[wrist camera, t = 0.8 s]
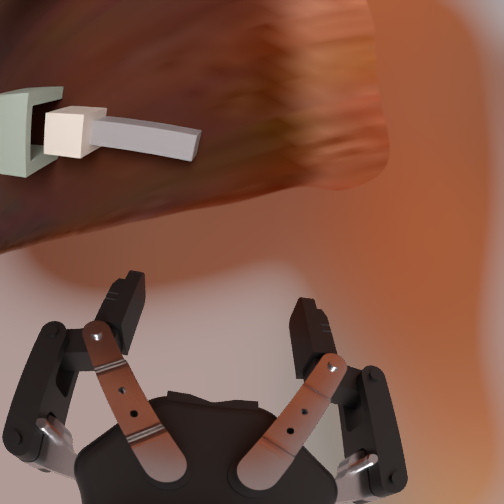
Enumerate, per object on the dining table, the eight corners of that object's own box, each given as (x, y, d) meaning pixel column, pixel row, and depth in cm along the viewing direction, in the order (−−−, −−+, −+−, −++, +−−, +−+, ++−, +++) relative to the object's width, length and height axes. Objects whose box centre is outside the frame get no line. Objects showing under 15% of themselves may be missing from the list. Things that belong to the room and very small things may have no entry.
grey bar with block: (203, 122, 26) (195, 129, 22) (194, 161, 28) (185, 176, 24) (63, 105, 23) (37, 112, 19) (60, 141, 26) (36, 153, 22)
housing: (63, 86, 22) (28, 92, 17) (57, 158, 27) (26, 177, 21) (24, 88, 21) (-11, 96, 15) (20, 154, 26) (-11, 172, 20)
